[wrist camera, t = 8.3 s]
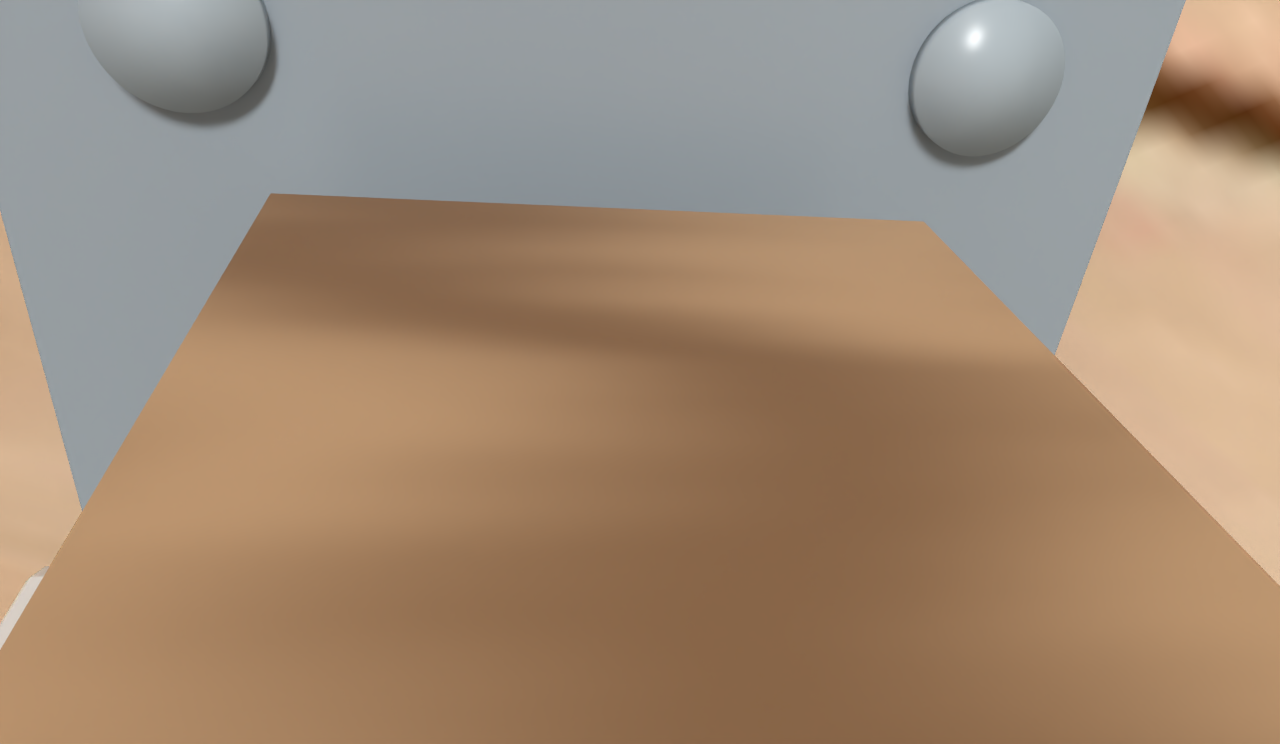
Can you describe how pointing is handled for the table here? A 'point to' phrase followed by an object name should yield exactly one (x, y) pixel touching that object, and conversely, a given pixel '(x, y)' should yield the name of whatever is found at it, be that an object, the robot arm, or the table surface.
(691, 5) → the plate
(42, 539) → the table surface
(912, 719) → the block
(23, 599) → the robot arm
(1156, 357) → the table surface
